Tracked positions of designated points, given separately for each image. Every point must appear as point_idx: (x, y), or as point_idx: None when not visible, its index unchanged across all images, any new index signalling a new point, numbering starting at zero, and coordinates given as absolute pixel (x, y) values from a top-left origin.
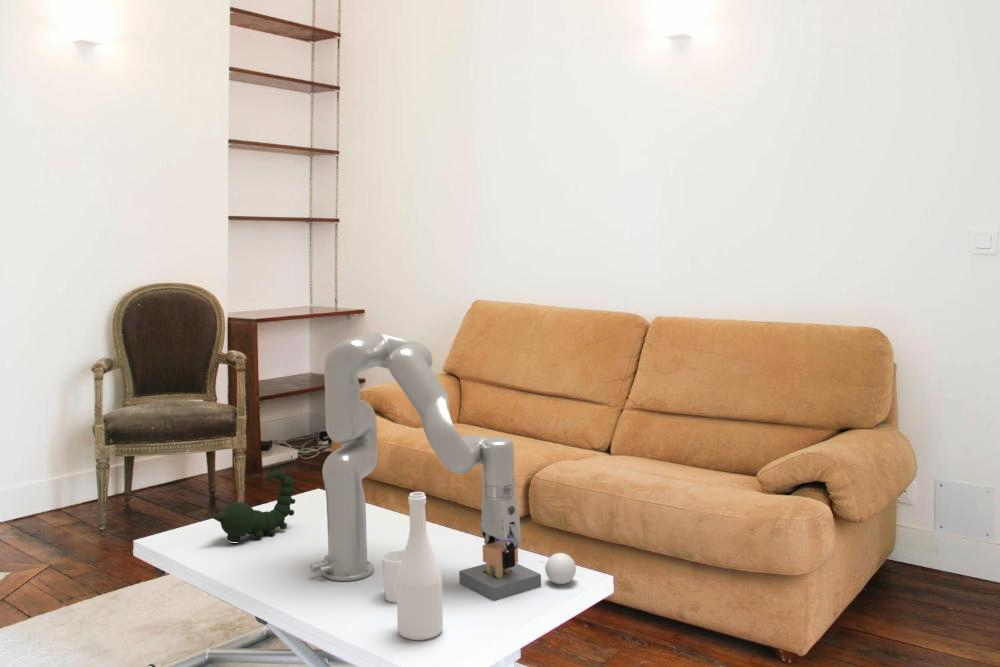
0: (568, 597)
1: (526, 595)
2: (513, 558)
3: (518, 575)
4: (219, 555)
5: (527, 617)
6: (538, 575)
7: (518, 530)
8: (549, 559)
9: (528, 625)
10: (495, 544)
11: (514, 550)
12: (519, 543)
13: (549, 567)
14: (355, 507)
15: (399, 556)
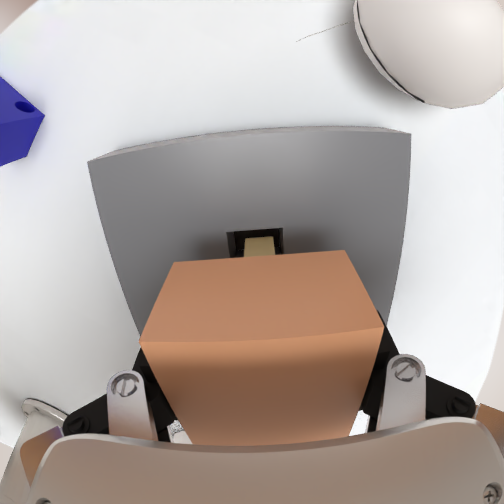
0: (497, 129)
1: (409, 231)
2: (386, 331)
3: (351, 236)
4: (13, 439)
5: (484, 306)
6: (410, 150)
7: (498, 480)
8: (450, 70)
9: (498, 320)
10: (221, 414)
11: (411, 366)
12: (495, 410)
13: (458, 105)
14: None
15: None
